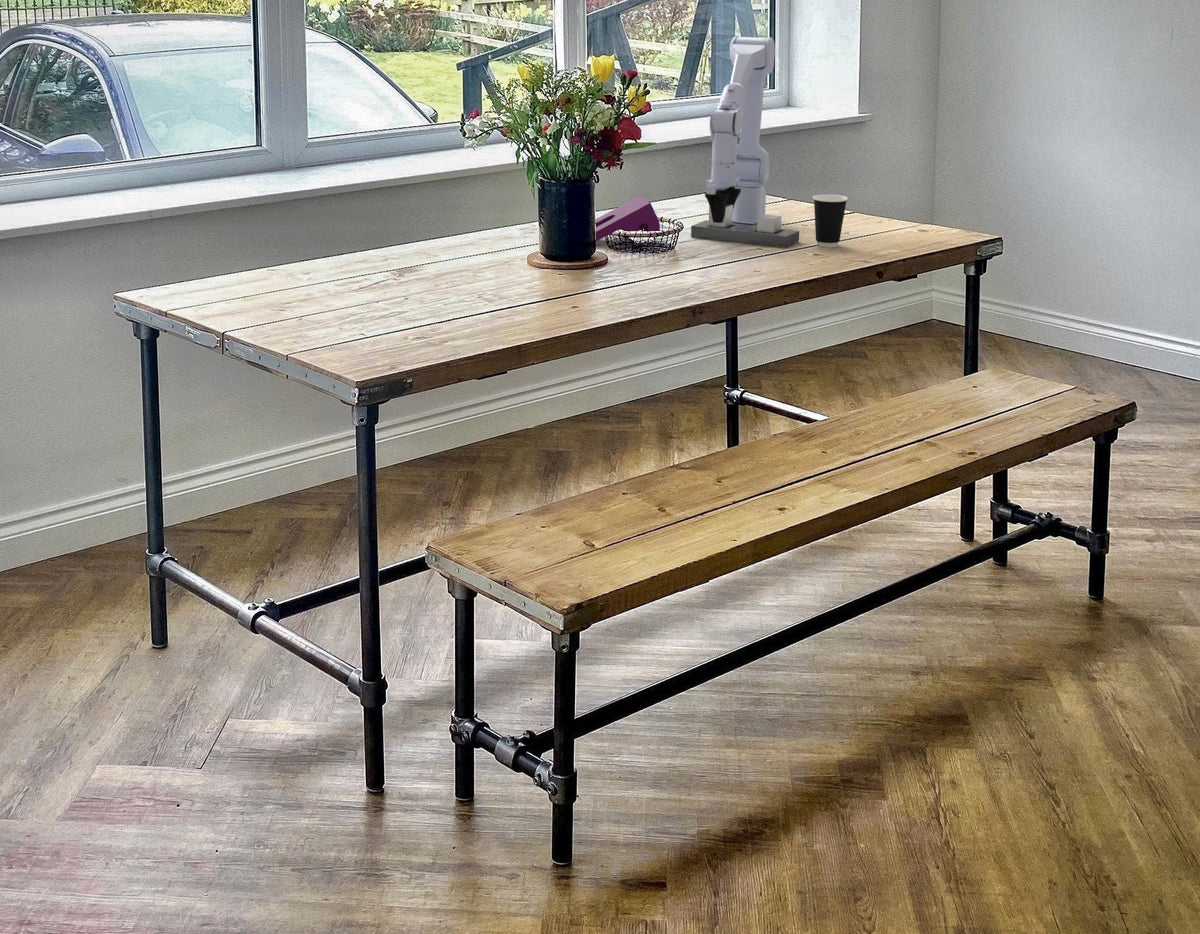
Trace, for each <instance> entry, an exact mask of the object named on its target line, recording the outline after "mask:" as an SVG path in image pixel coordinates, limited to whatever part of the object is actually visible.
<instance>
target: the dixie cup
mask: <svg viewBox="0 0 1200 934" xmlns="http://www.w3.org/2000/svg"><path fill="white" fill-rule="evenodd" d="M812 199H813V205H814V206H813V207H814V228H815V229H814V230H815V241H816V246H818V245H819V246H818V247H821V246H824V247H823V248H835V246H836V247H838V246H839V242H840V241H841V239H840V238H841V233H842V230H843V229H842V228H843V224H844V223H843V222H844V217H845V213H846V212H845V211H846V206H847V201H848V199H849V198H848V197H847V196H844V195H842V194H841V195H839V194H816V195H813V196H812Z"/></svg>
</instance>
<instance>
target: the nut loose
mask: <svg viewBox="0 0 1200 934" xmlns="http://www.w3.org/2000/svg"><path fill="white" fill-rule="evenodd" d="M708 221H709V227H715V228H724V229H729V228H731V227H732V223H733V222H732V221H733V205H732V204H726V206H725V210H724V217H723V221H722V223H715V222H713V219H712V214H711V209H710V206H708Z"/></svg>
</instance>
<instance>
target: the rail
mask: <svg viewBox="0 0 1200 934" xmlns="http://www.w3.org/2000/svg"><path fill="white" fill-rule="evenodd" d="M690 236H691V237H690V238H697V239H707V240H716V241H723V242H731V243H733V242H734V243H741V244H748V243H750V244H749V245H756V244H758V245H759V246H765V245H768V246H767V247H774V246H779V247H778V248H782V247H787V248H788V246H789V245H791V246H793V245H795V244H797V243H799V242H800V230H798V229H797V230H796V229H785V228H781V232H779V233H777V234H769V233H760V232H757V225H753V224H744V223H735V222H732V227H731V228H729V229H724V228H715V227H709V220H708V219H707V220H703V221H701V222H699V223H696V224H693V225H691V228H690ZM798 241H799V242H798ZM796 242H797V243H796ZM794 243H795V244H794ZM792 244H793V245H792ZM789 247H790V246H789Z"/></svg>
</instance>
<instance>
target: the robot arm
mask: <svg viewBox="0 0 1200 934" xmlns="http://www.w3.org/2000/svg"><path fill="white" fill-rule="evenodd" d="M775 45H776V44H775V40H774V39H773V38H772V37H770V36H769V37H755V36H752V37H751V36H749V37H748V36H737V35H735V36H734V37H733V38H732V39H731V41H730V45H729V59H730V60H731V65H732V66H733V69H732V74H731V78H730V81H729V84H727V85H725V87H723V89H722V92H721V93H722V94H721V96H720V99H719V102H718V105H717V108H716V109H715V110H713V111H712V112H711V113H710V116H709V117H710V118H709V131H710V142H711V143H712V145H711V146H712V151H711V155H712V156H711V173H710V174H711V177H710V178H711V179H707V180H706V189H705V192H704V197H705V198H706V201H707V202H708V205H709V206H710V209H711V214H712V219H713V222H715V223H722V221H723V217H724V210H725V206H726V204H732V205H733V221H732V223H735V224H745V225H757V220H758V217H759V216H762V215H764V214H766V207H767V205H766V204H767V203H766V201H767V192H766V191H767V190H766V189H765V187H764V186H763V185H765V184H766V183H767V182H768V180H769V178H770V177H769V176H770V155H769V152H768V151H767V150H766V149H765V148H764V147H763V146H762V145H761V144H760V137H761V136H760V135H761V125H762V114H763V113H762V111H763V102H764V100H763V99H764V92H765V82H766V78H767V76H768V75H770V74H772V73H773V69H774V67H775V57H776V56H775V54H776V47H775ZM739 135H740V137H739V144H738V136H739ZM742 156H743V157H742ZM745 156H746V157H745ZM754 157H755V158H754ZM756 157H757V158H756ZM709 206H708V207H709Z"/></svg>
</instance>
